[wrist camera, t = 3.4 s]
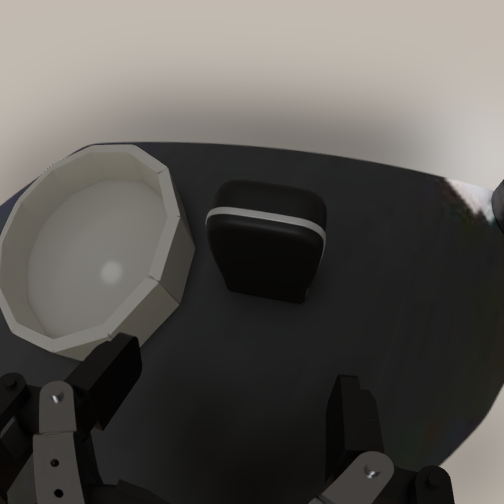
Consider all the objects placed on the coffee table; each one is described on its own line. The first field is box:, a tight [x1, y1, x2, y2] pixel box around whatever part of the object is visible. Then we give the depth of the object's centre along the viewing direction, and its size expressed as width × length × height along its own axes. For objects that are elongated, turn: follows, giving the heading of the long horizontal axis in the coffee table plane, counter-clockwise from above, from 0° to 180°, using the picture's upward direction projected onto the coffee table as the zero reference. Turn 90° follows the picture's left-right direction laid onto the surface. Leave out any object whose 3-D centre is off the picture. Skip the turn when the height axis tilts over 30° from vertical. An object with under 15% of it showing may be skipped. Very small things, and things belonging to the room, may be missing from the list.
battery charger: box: [205, 180, 327, 303], centre depth 21 cm, size 7×4×11 cm, turn 78°
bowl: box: [0, 145, 195, 361], centre depth 26 cm, size 20×20×6 cm
